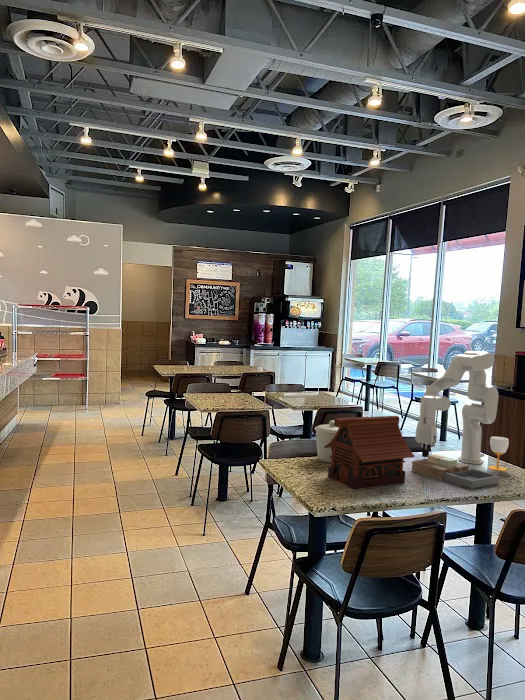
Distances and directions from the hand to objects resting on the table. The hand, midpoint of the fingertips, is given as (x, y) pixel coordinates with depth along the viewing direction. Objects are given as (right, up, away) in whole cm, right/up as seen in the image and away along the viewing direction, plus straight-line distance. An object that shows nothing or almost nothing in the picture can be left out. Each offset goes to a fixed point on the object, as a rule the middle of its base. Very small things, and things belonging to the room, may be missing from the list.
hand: (425, 456), depth 262 cm
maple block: (+4, -2, -6) cm, 7 cm away
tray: (+14, -8, -22) cm, 27 cm away
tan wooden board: (+5, -7, -8) cm, 11 cm away
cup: (+40, -8, +7) cm, 41 cm away
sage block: (+7, -2, -11) cm, 13 cm away
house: (-36, -6, -26) cm, 45 cm away
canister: (-47, -4, +7) cm, 48 cm away
